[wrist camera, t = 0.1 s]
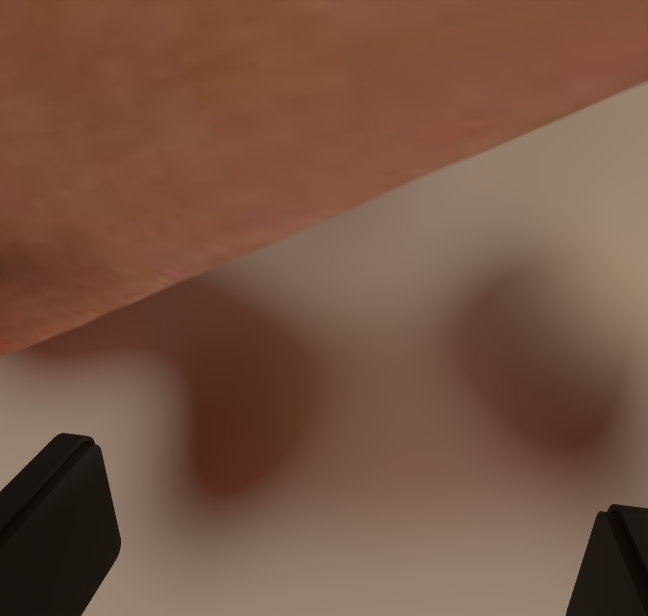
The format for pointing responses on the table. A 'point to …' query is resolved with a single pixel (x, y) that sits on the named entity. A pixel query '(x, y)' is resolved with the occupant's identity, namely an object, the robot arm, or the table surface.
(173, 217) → the table surface
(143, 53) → the table surface
